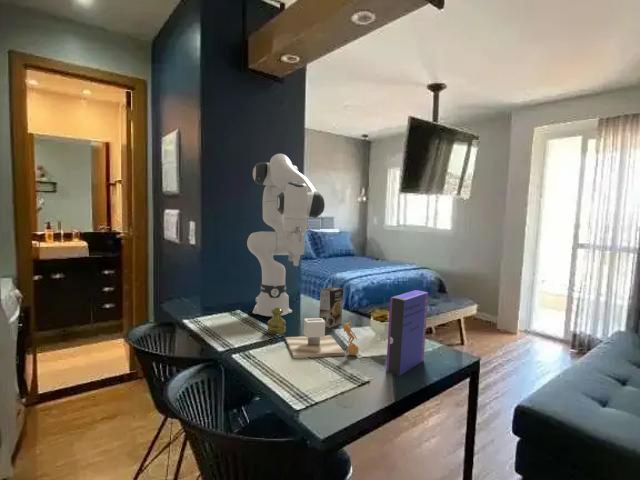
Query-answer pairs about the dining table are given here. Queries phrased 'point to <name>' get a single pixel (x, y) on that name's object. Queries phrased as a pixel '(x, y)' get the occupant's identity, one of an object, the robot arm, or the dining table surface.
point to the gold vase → (276, 322)
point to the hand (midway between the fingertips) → (293, 263)
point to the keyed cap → (314, 327)
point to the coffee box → (331, 306)
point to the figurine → (352, 347)
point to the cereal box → (406, 331)
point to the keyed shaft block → (314, 347)
